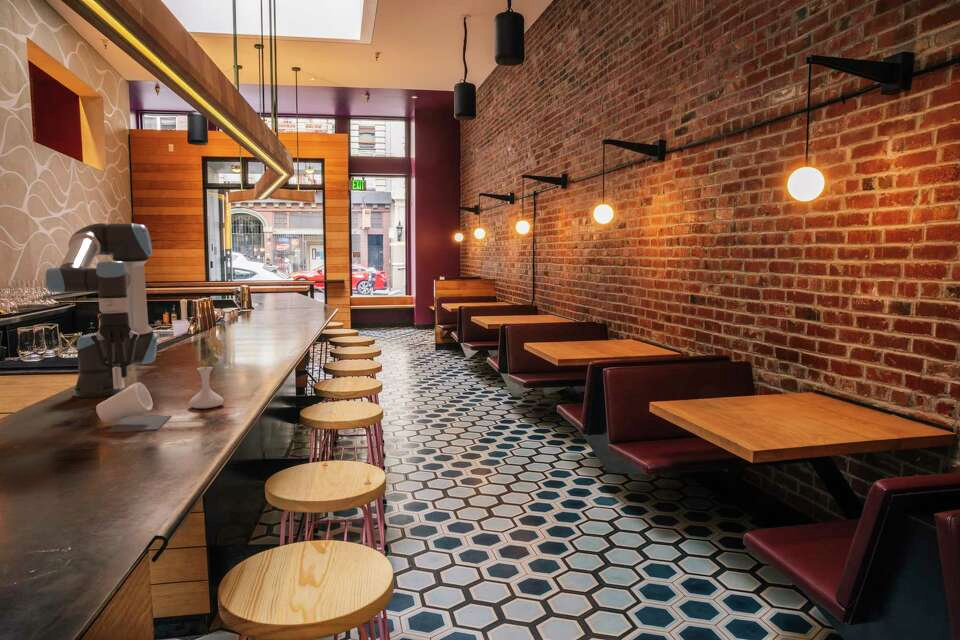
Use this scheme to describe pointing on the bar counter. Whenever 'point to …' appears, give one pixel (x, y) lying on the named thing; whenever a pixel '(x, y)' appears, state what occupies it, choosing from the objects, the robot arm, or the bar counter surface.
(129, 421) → the mat
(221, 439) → the bar counter surface
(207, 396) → the flower in vase
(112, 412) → the foam cup
